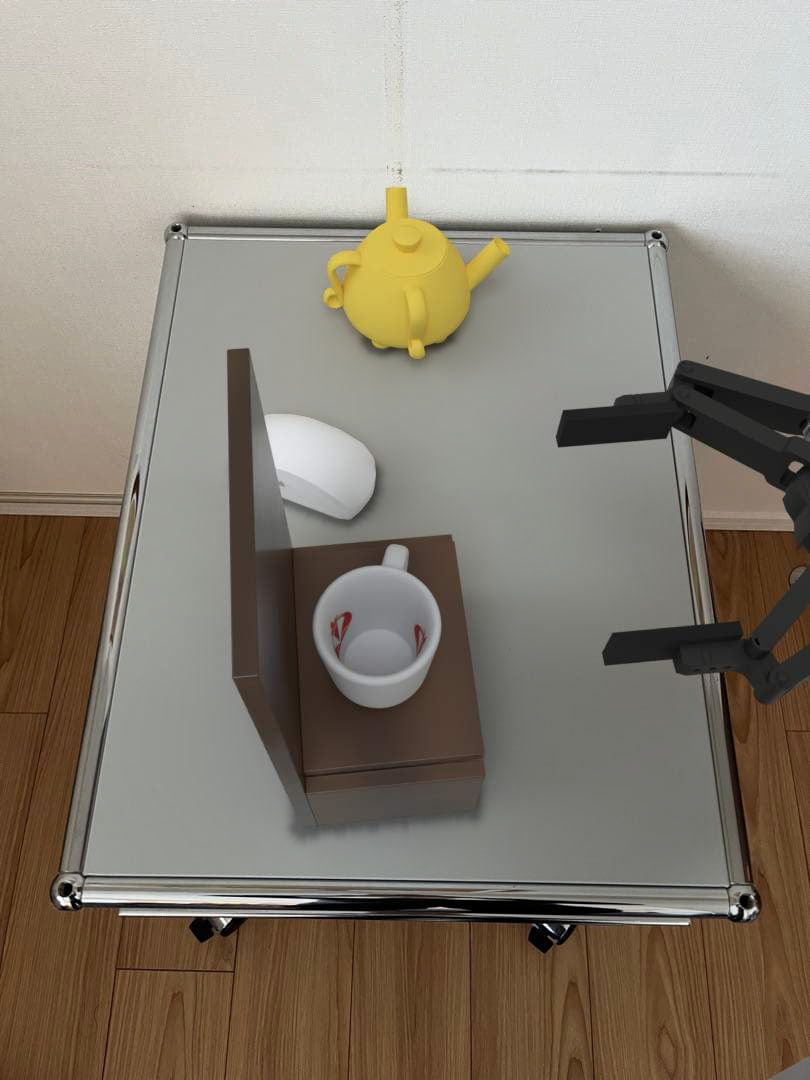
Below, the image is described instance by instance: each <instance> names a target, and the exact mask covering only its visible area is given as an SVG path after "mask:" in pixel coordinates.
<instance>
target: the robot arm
mask: <svg viewBox="0 0 810 1080" xmlns="http://www.w3.org/2000/svg"><path fill="white" fill-rule="evenodd" d="M672 428H673V429H675V430H677V431H679V432H681V433H683V434H684V435H686V436H688V437H691V438H692V439H694V440H696V441H698V442H699V443H702V444H704V445H706V446H707V447H709V448H711V449H713V450H715V451H717V452H718V453H720V454H722V455H725V456H727V457H728V458H730V459H732V460H734V461H736V462H738V463H740V464H742V465H744V466H746V467H748V468H749V469H751V470H753V471H755V472H757V473H759V474H760V475H762V476H763V477H764V480H765V482H766V483H767V484H768V485H770V486H772V487H774V488H776V490H777V489H778V490H779V491H781V492H783V493H784V496H783V497H782V498H781V501H782V503H783V506H784V510H785V512H786V513H787V515H788V516H789V518H790V519H791V520H792V523H793V536H794V538H795V541H796V544H797V545H796V546H797V547H798V548H803V549H804V550H805V551H806V552H807V553H808V554H809V555H810V394H807V393H803V392H800V391H796V390H793V389H790V388H786V387H783V386H779V385H775V384H772V383H769V382H765V381H762V380H759V379H755V378H752V377H749V376H748V377H747V376H744V375H742V374H738V373H734V372H731V371H728V370H724V369H720V368H717V367H714V366H710V365H707V364H703V363H700V362H696V361H693V360H689V359H683V360H680V361H679V362H678V363H677V365H676V367H675V370H674V372H673V375H672V377H671V379H670V382H669V383H668V387H667V389H666V390H665V391H657V392H645V393H643V392H642V393H634V394H631V393H629V394H622V395H620V396H618V397H615V399H614V402H613V405H608V406H597V407H596V406H595V407H583V408H572V409H571V408H570V409H562V412H561V415H560V420H559V424H558V427H557V430H556V435H555V441H556V445H557V448H569V447H582V446H584V447H585V446H593V445H594V446H595V445H606V444H607V445H608V444H620V443H632V442H643V441H656V440H667V438H668V436H669V434H670V433H671V432H670V431H671V430H672ZM784 434H785V435H784ZM786 435H791V436H786ZM801 436H802V437H801ZM795 462H796V463H799V464H800V465H802V466H801V467H800V468H799V469H798V470H797V471H796V472H795V471H793V470H791V469H790V468H789V467H790V466H791V464H792V463H795ZM809 605H810V564H809V565H807V566H806V568H805V569H804V570H803V572H802V573H801V574H800V575H799V576H798V577H797V579H796V580H795V581H794V582H793V583H792V585H791V586H790V587H789V588H788V589H787V591H786V592H785V593H784V594H783V595H782V597H781V598H780V599H779V600H778V601H777V602H776V603H775V605H774V606H773V607H772V608H771V610H770V611H768V613H767V614H766V615H765V616H764V618H763V619H762V620H761V621H760V622H759V624H758V625H757V626H756V627H755V628H754V630H753V631H752V632H751V633H750V634H749V636H748V637H747V638H746V637H745V638H743V637H744V636H745V635H744V630H743V627H742V624H741V621H740V620H733V621H721V622H713V623H702V624H691V625H681V626H680V625H679V626H669V627H658V628H648V629H636V630H627V631H626V630H625V631H617V632H616V631H615V632H612V633H611V634H610V636H609V638H608V640H607V642H606V644H605V646H604V648H603V649H602V651H601V655H602V660H603V665H604V666H605V667H609V666H618V665H619V666H620V665H628V664H638V663H639V664H640V663H650V662H660V661H669V660H671V661H672V663H673V668H674V671H675V674H678V675H682V676H685V677H688V676H699V675H709V674H710V675H711V674H719V673H730V672H735V673H739V674H740V675H742V676H743V677H744V678H745V679H747V681H748V682H749V684H750V685H751V687H752V688H753V690H752V694H753V697H754V699H755V700H756V701H757V702H758V703H759V704H760V705H763V706H770V705H773V704H775V703H776V702H777V701H780V699H782V698H783V697H785V696H786V695H788V694H790V693H791V692H792V691H794V690H795V689H796V688H798V687H800V686H801V685H802V684H803V683H805V682H806V681H809V679H810V643H808V644H807V645H805V646H804V647H802V648H801V649H800V650H798V651H797V652H795V653H794V654H792V655H791V656H789V657H788V658H786V659H785V660H784V661H782V662H780V663H779V661H778V659H776V657H775V656H774V654H773V653H772V652H773V650H774V649H775V648H776V646H777V644H778V643H779V642H780V640H782V639H783V637H784V636H785V634H787V632H788V631H789V630H790V628H792V627H793V625H794V624H795V623H796V621H797V620H798V619H799V618H800V617H801V616H802V614H803V613H804V612H805V610H806V609H807V608H808V607H809ZM766 1080H810V1055H809V1056H807V1057H805V1058H803V1059H801V1060H799V1061H798V1062H795V1063H794V1064H792V1065H790V1066H789V1067H787V1068H785V1069H784V1070H782V1071H780V1072H778V1073H776V1074H775V1075H772V1076H771V1077H769V1078H767V1079H766Z"/></svg>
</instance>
